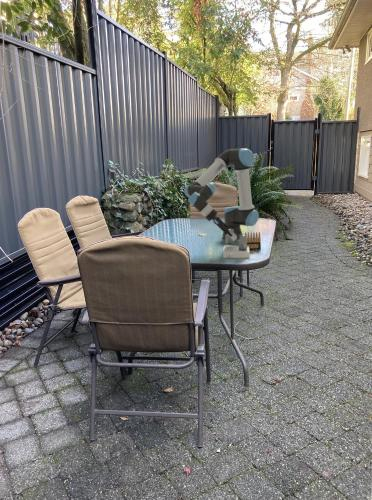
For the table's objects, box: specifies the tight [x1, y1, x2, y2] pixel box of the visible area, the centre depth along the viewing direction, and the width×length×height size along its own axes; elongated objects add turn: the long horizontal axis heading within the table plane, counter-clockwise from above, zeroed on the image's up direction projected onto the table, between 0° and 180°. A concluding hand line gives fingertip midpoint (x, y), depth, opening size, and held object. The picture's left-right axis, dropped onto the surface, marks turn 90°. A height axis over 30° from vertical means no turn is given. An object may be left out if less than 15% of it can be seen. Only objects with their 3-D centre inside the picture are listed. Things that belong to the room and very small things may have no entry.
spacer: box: [225, 229, 235, 245], centre depth 242 cm, size 5×5×9 cm
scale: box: [222, 245, 251, 259], centre depth 241 cm, size 17×16×4 cm
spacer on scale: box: [238, 234, 248, 251], centre depth 235 cm, size 5×5×9 cm
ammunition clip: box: [244, 231, 262, 251], centre depth 250 cm, size 11×2×12 cm, turn 88°
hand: (235, 238), depth 242 cm, fingers closed on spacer, 5 cm apart
